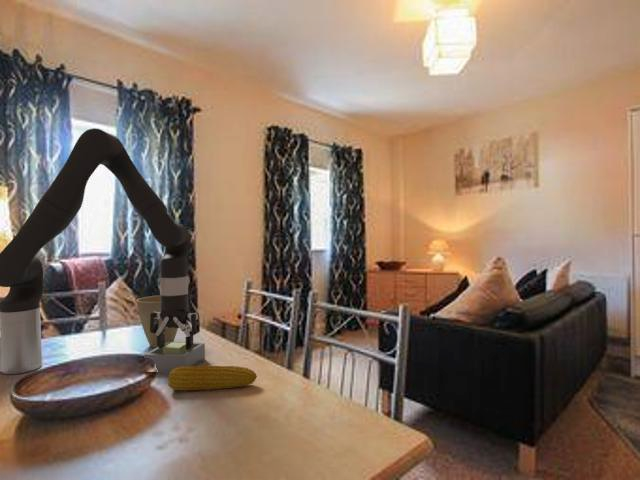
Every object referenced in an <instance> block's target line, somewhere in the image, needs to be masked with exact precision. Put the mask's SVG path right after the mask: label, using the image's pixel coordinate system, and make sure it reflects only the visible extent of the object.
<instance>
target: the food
mask: <svg viewBox="0 0 640 480" xmlns="http://www.w3.org/2000/svg"><path fill="white" fill-rule="evenodd" d="M257 377H258V375H257V373H256V372H255V371H254V370H252V369H250V368H248V367H244V366H237V365H236V366H234V365H227V366H226V365H197V366H181V367H178V368H175V369H173V370H172V371H171V372H170V374H169V375H168V387H169V388H170V389H172V390H174V391H203V390H205V391H206V390H207V391H208V390H219V389H232V388H242V387H246V386H248V385H251V384H254V382H255V381H256V380H257Z"/></svg>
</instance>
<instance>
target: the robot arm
mask: <svg viewBox="0 0 640 480" xmlns="http://www.w3.org/2000/svg"><path fill="white" fill-rule="evenodd" d="M100 165H103V166H104V167H105V168H106V169H107V170H108V171H110V172H111V173H112V174H113V175H114V176H115V178H116V179H117V180H118V181H119V184H121V186H122V188H123V190H124V193H125V195H126V197H127V199H128V200H129V203H130V204H131V205H132V207H133V208H134V210H136V212H137V213H138V215H140V217H141V218H142V220H144V221H145V222H146V225H147V227H148V228H149V231H150V232H151V234H152V236H153V237H154V239H155V241H157V242H158V243H159V244H160V245H161V246H162V247H164V249H165V250H164V256H163V257H162V258H161V259H160V260H161V261H160V281H159V282H160V283H159V295H160V308H161V312H158V311H155V312H152V313H151V314H150V332H151V333H155V334H156V335H157V346H158V348H163V347H164V346H165V334H163V333H164V332H165V330H166V329H167V328H172V327H174V328H178V329H180V331H181V332H183V333H184V334H185V342H186V350H189V349H191V348H192V346H193V343H194V336H195V335H197V334H198V333H200V332H201V328H200V327H201V326H200V315H199V312H197V311H196V312H193V313H192V312H191V313H190V312H189V283H188V276H187V274H188V272H187V271H188V270H187V269H188V267H187V257H188V253H189V246H190V245H189V244H190V233H189V231H188V229H187V227H186V226H185V225H184V224H181V223H179V222H175V221H174V220H173V218H171V215H169V214H168V212H169V211H168V207H167V206H166V205H165V203H164V202H163V200H162V199H161V198H160V197H159V195H158V194H157V193H156V192H155V191H154V190H153V187H151V186H150V185H149V184H148V182H147V181H146V180H145V178H144V177H143V176H142V174H141V173H140V171H139V170H138V168H137V167H136V166H135V164H134V162H133V161H132V158H131V156H130V155H129V153H128V151H127V150H126V148H125V147H124V145H123V143H122V142H121V140H120V139H119V138H118V137H117V136H116V135H114V134H112V133H110V132H108V131H105V130H104V129H101V128H96V127H93V128H90V129H89V128H88V129H87V130H85V131H83V133H81V135H80V136H79V137H78V138H77V140H76V142H75V144H74V146H73V148H72V150H71V152H70V154H69V155H68V157H67V159H66V161H65V163H64V164H63V167H62V168H61V170H60V171H59V172H58V173H57V175H56V176H55V178H54V180H53V181H52V182H51V184H50V186H49V187H48V189H47V190H46V191H45V192H44V193H43V196H41V198H40V199H39V200H38V203H36V206H35V207H34V208H33V210H32V211H31V214H30V215H29V216H28V218H27V219H26V220H25V221H24V223H23V224H22V226H21V227H20V229H19V230H18V231H17V233H16V234H15V236H13V238H12V240H10V241H9V243H8V244H7V245H6V246H5V247H4V249H2V251H1V252H0V287H1V288H9V291H8V292H7V295H6V296H5V297H4V298H2V299H1V300H0V372H1V373H2V374H4V375H18V374H25V373H28V372H32V371H35V370H37V369H39V368H41V367H42V366H43V354H42V351H43V350H42V349H43V348H42V330H41V329H42V327H41V326H42V324H41V323H42V322H41V307H40V306H41V300H42V297H43V294H44V267H43V263H42V260H41V259H40V258H39V257H38V256H37V254H38V253H39V251H40V250H42V248H44V247H45V246H46V245H48V243H49V242H51V241H52V240H54V239H55V238H57V236H59V235H60V234H61V233H62V232H64V230H66V229H67V228H68V227H69V226H70V225H71V223H72V222H73V220H74V219H75V217H76V216H77V214H78V213H79V212H80V210H81V209H82V206H83V202H84V197H85V191H86V187H87V184H88V181H89V179H90V177H92V175H93V174H94V172H95V171H96V170H97V168H98V167H99V166H100ZM159 318H161V319H162V321H163V322H162V323H161V325H160V326H159ZM188 319H189V321H190V322H191V323H190V322H189V321H188Z"/></svg>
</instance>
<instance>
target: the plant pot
mask: <svg viewBox="0 0 640 480" xmlns="http://www.w3.org/2000/svg"><path fill="white" fill-rule="evenodd" d="M136 304H137V305H136V306H137V311H138V316H139V320H140V322H141V323H140V324H141V326H142V329H143V331H144V335H145V338H146V340H147V342H148V344H149V346H150V347H152V348H157V347H158V346H157V335H156V334H155V333H151V332H150V314H151V313H152V312H155V311H158V312H161V308H160V294H159V295H158V294H157V295H151V296H145V297H141V298H137V299H136ZM162 322H163V321H162V319H161V318H159V326H160V325H161V323H162ZM178 329H179V328H174V327H172V328H167V329H166V330H165V332H164V333H163V334H165V343H166V342H175V338H176V336H177V332H178Z"/></svg>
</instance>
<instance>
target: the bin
mask: <svg viewBox="0 0 640 480" xmlns="http://www.w3.org/2000/svg"><path fill="white" fill-rule="evenodd" d="M177 342H178V343H186V341H177ZM170 343H172V342H166V343H165V346H166V345H168V344H170ZM205 346H206V345H205V342H193V346H192V348H191V349H189V350H188V352H187V353H185V354H184V355H176V354H163V348H158V347H154V349H152V350H150V351H148V352H146V353H144V355H143V356H144V357H143V358H150V359H152V360H153V361H154V362H155V364H156V368H157V370H158V373H157V374H169V375H170V372H171V371H172V370H173V369H175V368H178V367H181V366H199V365H200V364H201V363H202V362H203V360H204V359H205V360H206V349H205V348H206V347H205ZM205 360H204V361H205ZM200 362H201V363H200ZM199 363H200V364H199Z"/></svg>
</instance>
